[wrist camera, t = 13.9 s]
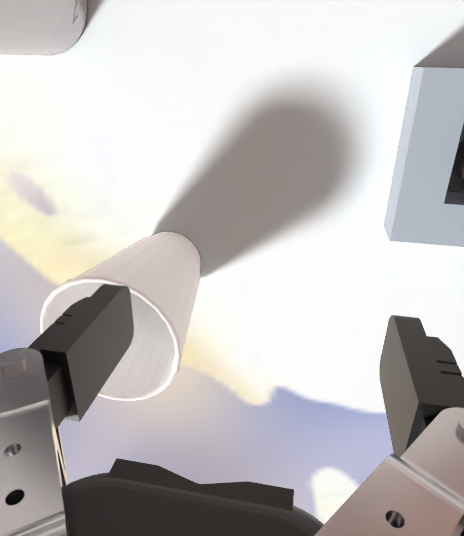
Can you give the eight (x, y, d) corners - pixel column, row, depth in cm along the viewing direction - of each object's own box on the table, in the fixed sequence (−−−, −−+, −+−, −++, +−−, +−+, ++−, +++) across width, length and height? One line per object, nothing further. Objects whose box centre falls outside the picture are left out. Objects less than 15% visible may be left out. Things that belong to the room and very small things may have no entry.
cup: (232, 301, 48) (196, 400, 34) (138, 309, 51) (69, 403, 37) (209, 202, 44) (157, 269, 29) (107, 217, 46) (15, 285, 32)
